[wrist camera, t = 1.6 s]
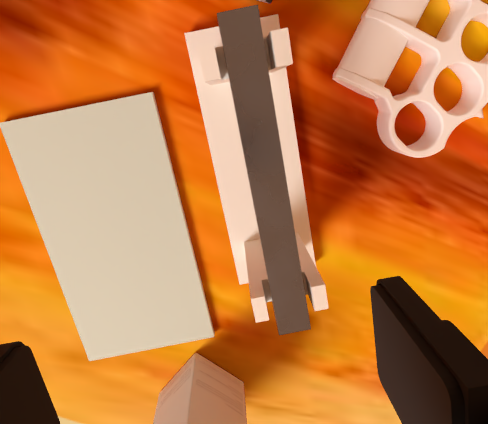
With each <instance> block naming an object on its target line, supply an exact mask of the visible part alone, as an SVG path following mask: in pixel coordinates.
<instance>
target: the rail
mask: <svg viewBox="0 0 488 424" xmlns="http://www.w3.org/2000/svg"><path fill="white" fill-rule="evenodd" d="M217 20H218V26H219V31H220V36H221V41H222V46H223V51H224V57H225V62H226V67H227V72H228V77H229V82H230V87H231V93H232V98H233V103H234V108H235V113H236V118H237V123H238V129H239V134H240V139H241V144H242V149H243V154H244V159H245V165H246V170H247V175H248V180H249V185H250V190H251V195H252V201H253V206H254V211H255V216H256V221H257V226H258V231H259V237H260V242H261V247H262V252H263V257H264V262H265V267H266V273H267V278H268V283H269V288H270V293H271V298H272V303H273V309H274V314H275V319H276V323H277V328H278V332H279V335H283V334H288V333H293V332H298V331H303V330H309V329H311V327H310V321H309V315H308V309H307V303H306V297H305V290H304V284H303V278H302V272H301V266H300V260H299V254H298V248H297V241H296V235H295V229H294V223H293V217H292V211H291V205H290V199H289V193H288V186H287V180H286V174H285V168H284V162H283V156H282V150H281V144H280V138H279V131H278V125H277V119H276V113H275V107H274V101H273V95H272V89H271V83H270V76H269V70H268V64H267V58H266V52H265V46H264V40H263V34H262V28H261V21H260V15H259V9H258V5H254V6H249V7H244V8H240V9H235V10H230V11H225V12H220V13H217Z"/></svg>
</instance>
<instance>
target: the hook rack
mask: <svg viewBox="0 0 488 424" xmlns="http://www.w3.org/2000/svg"><path fill="white" fill-rule="evenodd" d="M260 21H261V28H262V34H263V40H264V46H265V52H266V58H267V64H268V70H269V76H270V83H271V89H272V95H273V101H274V107H275V113H276V119H277V125H278V131H279V138H280V144H281V150H282V156H283V162H284V168H285V174H286V180H287V186H288V193H289V199H290V205H291V211H292V217H293V223H294V229H295V235H296V241H297V248H298V254H299V260H300V266H301V272H302V278H303V284H304V290H305V295H306V294H308V295H309V298H310V300H311V303H312V305H313V308H314V310H315V311H319V310H324V309H328V302H327V295H326V288H325V284H324V282H323V280H322V278H321V276H320V274H319V272H318V270H317V268H316V264H315V257H314V250H313V244H312V237H311V230H310V224H309V217H308V210H307V204H306V197H305V190H304V184H303V177H302V170H301V164H300V157H299V150H298V144H297V137H296V130H295V124H294V117H293V110H292V104H291V97H290V90H289V84H288V77H287V70H286V67H287V66H289V65H291V64H293V60H292V53H291V46H290V39H289V32H288V28H283V29H280V24H279V17H278V14H276V15H271V16H266V17H261V18H260ZM184 34H185V38H186V43H187V47H188V52H189V56H190V61H191V65H192V70H193V74H194V79H195V83H196V88H197V93H198V97H199V102H200V106H201V111H202V115H203V120H204V124H205V129H206V133H207V138H208V142H209V147H210V152H211V156H212V161H213V165H214V170H215V174H216V179H217V183H218V188H219V192H220V197H221V202H222V206H223V211H224V215H225V220H226V224H227V229H228V233H229V238H230V242H231V247H232V251H233V256H234V261H235V265H236V270H237V274H238V279H239V283H240V284H245V283H249V288H250V296H251V302H252V307H253V312H254V316H255V321H256V323H257V322H262V321H267V320H269V316H268V311H267V306H266V302H270V301H272V298H271V293H270V288H269V283H268V278H267V273H266V267H265V262H264V257H263V252H262V247H261V242H260V237H259V231H258V226H257V221H256V216H255V211H254V206H253V201H252V195H251V190H250V185H249V180H248V175H247V170H246V165H245V159H244V154H243V149H242V144H241V139H240V134H239V129H238V123H237V118H236V113H235V108H234V103H233V98H232V93H231V87H230V82H229V77H228V72H227V67H226V62H225V57H224V51H223V46H222V41H221V36H220V31H219V26H218V27H213V28H208V29H203V30H198V31H193V32H188V33H184Z"/></svg>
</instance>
